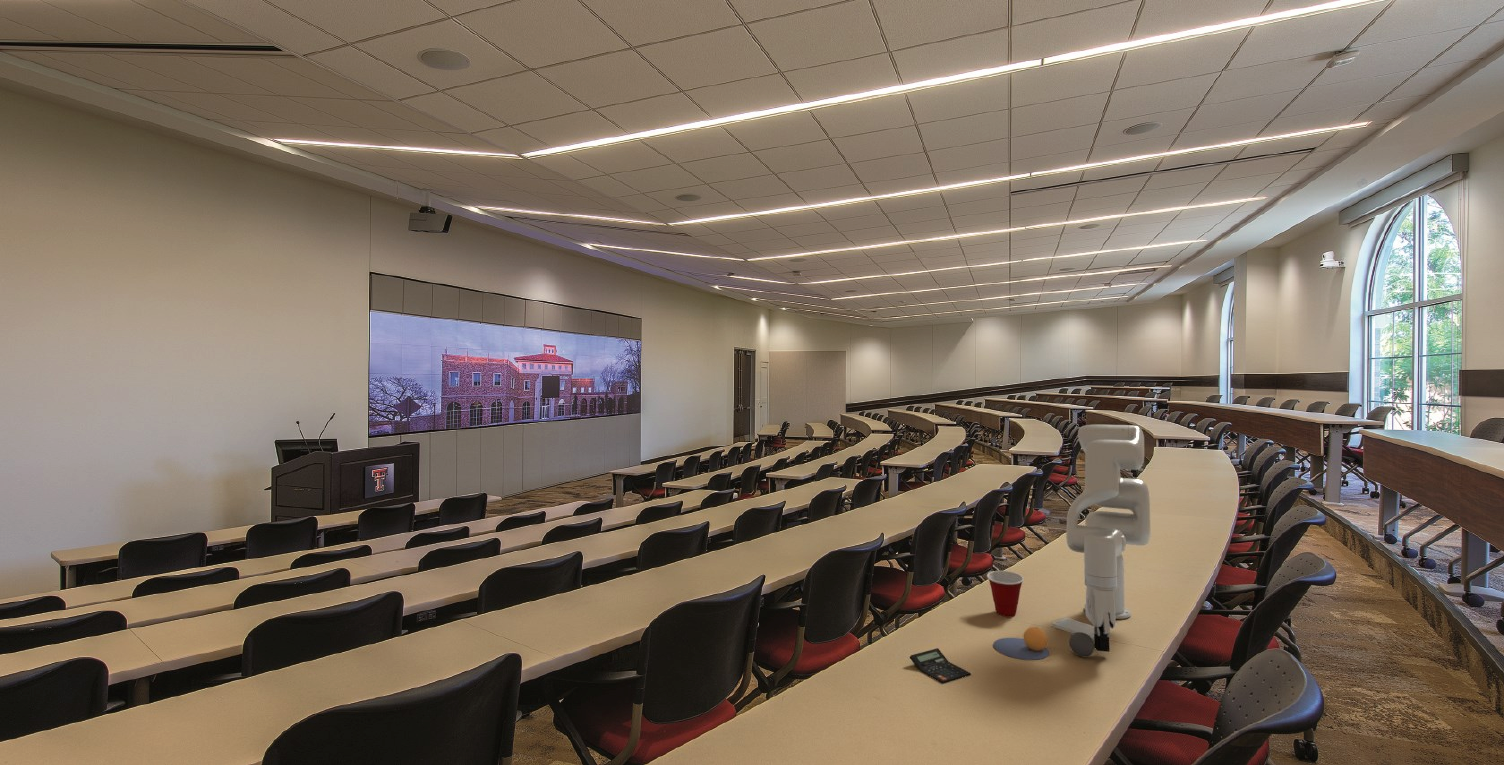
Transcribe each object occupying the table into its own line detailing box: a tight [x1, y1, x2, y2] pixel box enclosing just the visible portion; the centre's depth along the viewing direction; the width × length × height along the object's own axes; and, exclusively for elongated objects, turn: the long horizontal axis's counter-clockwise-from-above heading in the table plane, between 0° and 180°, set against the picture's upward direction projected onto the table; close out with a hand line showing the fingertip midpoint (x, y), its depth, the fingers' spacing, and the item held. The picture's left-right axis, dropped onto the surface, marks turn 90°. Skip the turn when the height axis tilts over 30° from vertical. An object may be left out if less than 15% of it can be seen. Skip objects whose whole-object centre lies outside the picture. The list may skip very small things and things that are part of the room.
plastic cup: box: [986, 570, 1025, 617], centre depth 195 cm, size 11×11×12 cm
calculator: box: [909, 647, 972, 684], centre depth 157 cm, size 9×12×3 cm
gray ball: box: [1068, 632, 1095, 658], centre depth 164 cm, size 6×6×6 cm
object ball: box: [1023, 626, 1049, 651], centre depth 168 cm, size 6×6×6 cm
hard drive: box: [1051, 617, 1095, 641], centre depth 182 cm, size 2×8×12 cm
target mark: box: [993, 637, 1050, 661], centre depth 169 cm, size 14×14×1 cm
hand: (1101, 650), depth 164 cm, fingers closed
